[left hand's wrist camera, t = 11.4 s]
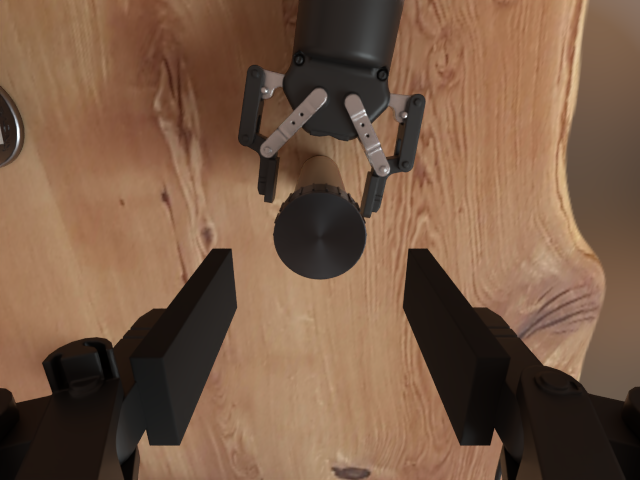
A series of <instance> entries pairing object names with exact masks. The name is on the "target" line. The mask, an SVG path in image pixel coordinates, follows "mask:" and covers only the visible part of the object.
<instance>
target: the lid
mask: <svg viewBox="0 0 640 480" xmlns="http://www.w3.org/2000/svg"><path fill="white" fill-rule="evenodd" d="M279 211H280V213H278V214H277V217H276V219H275V222H274V223H275V227H274V233H273V236H274V245H275V248H276V251H277V253H278V255H279V257H280V259H281V260H282V261H283V263H284V264H285V265H286V266H287V267H288V268H289V269H291V270H292V271H293V272H295V273H297V274H299V275H301V276H303V277H307V278H311V279H329V278H333V277H337V276H339V275H341V274H343V273H345V272H347V271H348V270H349V269H351V268H352V267H353V266H354V265H355V264H356V263H357V261H358V260H359V259H360V257H361V255H362V253H363V251H364V248H365V244H366V236H367V233H366V227H365V223H366V222H365V220H364V217H363V215H362V213H360V212H361V210H360V208H359V205H358V203H357V202H356V203H355V201H354V200H353V199H352V197H351V195H350V194H349V193H348V194H347V193H346V192H345V191H343V190H342V189H340V187H335V186H332V185H328V184H327V183H325V184H315V183H313V184H312V185H308V186H305V187H300V189H298V190H297V191H295V192H294V193H293V194H292V193H291V194H290V196H289V197H288V199H287V200H286V201H285V202H283V203H282V205H281V208H280V210H279Z"/></svg>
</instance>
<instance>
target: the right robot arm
mask: <svg viewBox="0 0 640 480" xmlns="http://www.w3.org/2000/svg"><path fill="white" fill-rule="evenodd" d="M403 5H404V0H299V6H298V14H297V22H296V31H295V39H294V47H293V55H292V62H291V65H290V67H289V69H288V71H287V72H286V74H285V75H284V74H280V73H276V72H272V71H268V70H264V69H263V68H262V67H260V66H258V65H252V66H250V67H249V69H248V71H247V78H246V85H245V92H244V99H243V107H242V114H241V121H240V128H239V135H238V140H239V142H240V143H241V144H242V145H243V146H248V147H249V148H251V149H253V150H255V151H256V152H257V153H258V154H259V156H260V169H259V179H258V191H259V194H260V195H265V196H264V202H268V203H273V201H274V198H275V193H276V184H277V176H278V168H279V159H280V157H277V155H278V150H279V149H280V148H281V147H282V146H283V145H284V144H285V143H286V142H287V141H288V140H289V139H290V138H291V137H292V136H293V135H294V134H295V133H296V132H297V131H298V130H299V129H300V128H301V127H302V128H303V129H304V130H305V131H306V132H307V133H309V134H310V135H314V136H332V137H334V138H336V139H338V140H343V141H348V140H353V139H355V138H358V140H359V142H360V145H361V147H362V149H363V150H364V152H365V154H366V156H367V159H368V161H369V163H370V165H371V167H372V168H371V172H368V174H367V178H366V183H365V188H364V193H363V197H362V202H361V207H360V210H361V212H360V213H362V215H363V217H366V218H370V217H371V213H372V212H377V211H378V210H379V208H380V205H381V200H382V196H383V192H384V188H385V184H386V180H387V178H388V176H389V175H391V174H393V173H398V172H409V171H410V170H411V169H412V168H413V165H414V159H415V154H416V149H417V144H418V139H419V133H420V128H421V123H422V118H423V113H424V108H425V98H424V96H423V95H421V94H414V95H399V94H390V92H389V88H388V76H389V71H390V66H391V61H392V57H393V52H394V47H395V42H396V38H397V33H398V28H399V23H400V19H401V14H402V9H403ZM280 87H282V88H283V91H284V93H285V95H286V97H287V99H288V101H289V103H290V105H291V107H292V109H293V112H292V114H291V115H290V116H289V117H288V118H287V119H286V120H285V121H284V122H283V123H282V124H281V125H280V126H279V127H278V128H277V129H276V131H275V132H274V133H273V134H272V135H271V136H270V137H269V138H267V137H265V136H263V135H261V134H260V133H259V130H260V124H261V118H262V111H263V105H264V99H270V98H272V97H273V95H274V92H275V91H276V89H278V88H280ZM388 106H389V107H390V108H391V109H392V111H393V118H394V120H395V121H396V122H399V128H398V134H397V139H396V145H395V151H394V156H390V157H385V155H384V153H383V150H382V148H381V145H380V142H379V140H378V138H377V136H376V133H375V131H374V129H373V127H372V125H371V124H372V123H373V122H374V121H375V120H376V119H377V118H378V117H379V116H380V115H381V114H382V113H383V112H384V111H385V110H386V108H387V107H388ZM23 143H24V126H23V122H22V118H21V115H20V113H19V111H18V109H17V107H16V105H15V103H14V102H13V100H12V99H11V97H10V96H9V95H8V94H7V93H6V91H5V90H4V89H3V88H2V87H1V86H0V167H4V166H6V165H8V164H10V163H11V162H13V161H14V160H15V159H16V158H17V156H18V155H19V154H20V152H21V150H22V147H23Z"/></svg>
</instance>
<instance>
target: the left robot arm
mask: <svg viewBox="0 0 640 480" xmlns="http://www.w3.org/2000/svg"><path fill="white" fill-rule="evenodd" d="M236 309H237V301H236V290H235V280H234V270H233V259H232V249H212V250H211V251H210V253H209V254H208V255H207V257H206V258H205V259H204V261H203V262H202V263H201V264H200V266H199V267H198V268H197V270H196V271H195V272H194V274H193V275H192V276H191V277H190V279H189V280H188V281H187V283H186V284H185V285H184V287H183V288H182V289H181V290H180V292H179V293H178V294H177V296H176V297H175V298H174V300H173V301H172V302H171V304H170V305H169V306H168V307H167V309H152V310H151V311H149V312H148V313H146V314H144V315H143V316H141V317H140V318H139V319H138V320H137V321H136V322H135V323H134V325H133V326H132V327H131V329H130V330H128V331H127V333H126V334H125V335H124V336H123V339H121V340H120V341H119V342H118V343H117V344H116V345H115V347H114V348H113V347H112V343H111V342H110V341H109V340H107V339H105V338H99V337H94V338H85V339H81V340H77V341H74V342H71V343H69V344H67V345H64V346H62V347H60V348H58V349H57V350H55V351H54V352H52V353H51V354H50V355H48V357H47V358H46V359H45V360H44V361H43V362H42V364H43V367H44V370H45V373H46V376H47V379H48V381H49V384H50V387H51V390H52V395H50V396H46V397H41V398H37V399H32V400H28V401H23V402H19V403H16V402H15V400H14V397H13V395H12V392H10V391H9V390H7V389H5V388H0V480H138V472H139V463H140V455H139V450H138V446H137V444H138V443H139V441H140V439H141V437H142V435H143V433H144V431H145V430H146V432H147V436H148V440H149V444H150V445H180V443H181V441H182V439H183V436H184V434H185V431H186V429H187V427H188V424H189V422H190V419H191V417H192V415H193V412H194V410H195V407H196V405H197V403H198V400H199V398H200V395H201V393H202V391H203V388H204V386H205V383H206V381H207V379H208V376H209V374H210V371H211V369H212V367H213V364H214V362H215V359H216V357H217V355H218V352H219V350H220V347H221V345H222V343H223V340H224V338H225V335H226V333H227V331H228V328H229V326H230V323H231V321H232V319H233V316H234V314H235V311H236ZM403 309H404V311H405V314H406V316H407V319H408V321H409V323H410V326H411V328H412V331H413V333H414V335H415V338H416V340H417V343H418V345H419V347H420V350H421V352H422V355H423V357H424V359H425V362H426V364H427V367H428V369H429V371H430V374H431V376H432V379H433V381H434V383H435V386H436V388H437V391H438V393H439V395H440V398H441V400H442V403H443V405H444V407H445V410H446V412H447V415H448V417H449V419H450V422H451V424H452V427H453V429H454V431H455V434H456V436H457V439H458V441H459V443H460V445H490V444H491V440H492V436H493V432H494V428H495V430H496V432H497V433H498V435H499V437H500V439H501V441H502V443H503V446H502V450H501V454H500V458H499V462H498V466H497V469H496V474H495V480H500V478H501V474H502V480H640V387H634V388H633V389H631V390H630V391H629V392H628V395H627V398H626V400H625V402H624V401H619V400H615V399H610V398H606V397H601V396H596V395H592V394H589V393H587V391H586V390H585V388H584V387H583V386H582V384H580V383H579V382H578V381H577V380H575V379H574V378H573V377H572V376H570V375H568V374H566V373H564V372H562V371H560V370H557V369H554V368H551V367H548V366H543V364H542V363H541V362H540V361H539V360H538V359H537V358H536V356H535V355H534V354H533V353H532V352H531V351H530V350H529V348H528V347H527V346H526V345H525V344H524V343H523V341H522V340H521V339H520V338H518V337H517V335H516V333H515V332H514V331H513V330H512V329H510V327H509V325H508V324H507V323H506V322H505V321H504V320H503V318H502V317H501V316H499V315H498V314H496V313H494V312H493V311H491V310H490V309H488V308H473V307H472V306H471V305H470V304H469V302H468V301H467V300H466V298H465V297H464V296H463V294H462V293H461V292H460V290H459V289H458V288H457V287H456V285H455V284H454V283H453V281H452V280H451V279H450V277H449V276H448V275H447V274H446V272H445V271H444V270H443V268H442V267H441V266H440V264H439V263H438V262H437V261H436V259H435V258H434V257H433V255H432V254H431V253H430V251H429V250H428V249H408V259H407V270H406V280H405V290H404V301H403Z"/></svg>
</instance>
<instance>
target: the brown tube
mask: <svg viewBox="0 0 640 480" xmlns="http://www.w3.org/2000/svg"><path fill="white" fill-rule="evenodd" d="M313 183H315V184H325V183H327V184H328V185H332V186H335V187H340V189H342V190H343V191H345V188H344V184H343V181H342V178H341V175H340V171H339V168H338V166H337V165H336V163H335V162H334V161H333V160H332V159H330V158H328V157H325V156H314V157H312V158H310V159H308V160H307V161H306V162H305V163H304V165H303V166H302V168H301V171H300V175H299V178H298V181H297V184H296V188H295V191H297V190H298V189H300V187H305V186H308V185H312V184H313ZM295 191H294V192H295ZM345 192H346V191H345Z"/></svg>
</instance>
